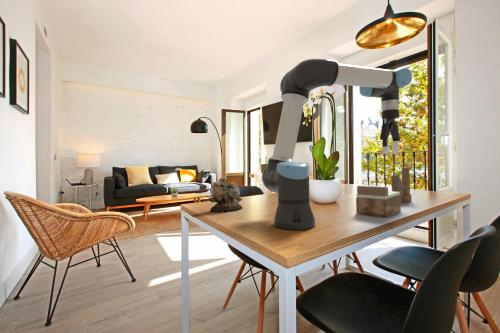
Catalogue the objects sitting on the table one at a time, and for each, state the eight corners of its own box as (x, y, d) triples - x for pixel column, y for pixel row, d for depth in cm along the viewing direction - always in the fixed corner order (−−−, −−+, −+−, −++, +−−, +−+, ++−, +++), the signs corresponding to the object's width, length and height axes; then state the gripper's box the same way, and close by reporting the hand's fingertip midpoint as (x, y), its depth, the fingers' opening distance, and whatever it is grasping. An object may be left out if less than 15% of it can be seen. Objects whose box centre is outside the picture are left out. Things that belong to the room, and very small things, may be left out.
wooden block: (391, 202, 134) (390, 168, 133) (405, 200, 138) (404, 167, 138) (398, 203, 130) (397, 168, 130) (411, 201, 135) (411, 167, 134)
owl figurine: (214, 214, 119) (212, 178, 119) (204, 211, 129) (203, 177, 129) (246, 209, 128) (245, 175, 128) (235, 206, 138) (234, 175, 138)
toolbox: (356, 213, 109) (356, 197, 109) (372, 207, 120) (372, 193, 120) (386, 217, 100) (385, 200, 100) (400, 210, 112) (400, 195, 111)
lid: (356, 197, 109) (356, 186, 109) (372, 192, 120) (372, 182, 120) (385, 199, 100) (385, 187, 100) (399, 194, 112) (399, 183, 111)
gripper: (389, 105, 112) (390, 153, 112) (406, 112, 129) (407, 153, 129) (372, 108, 117) (372, 153, 117) (390, 114, 134) (391, 154, 134)
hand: (390, 154), depth 123 cm, fingers open, 13 cm apart
